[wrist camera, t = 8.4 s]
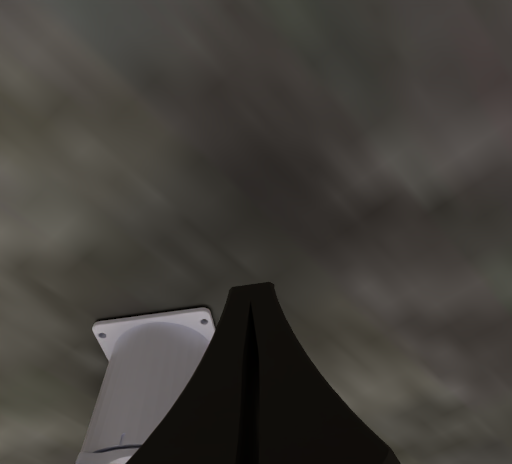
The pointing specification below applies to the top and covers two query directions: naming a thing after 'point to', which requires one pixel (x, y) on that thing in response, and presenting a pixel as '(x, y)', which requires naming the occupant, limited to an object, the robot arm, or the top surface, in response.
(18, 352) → the top surface
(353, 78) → the top surface
